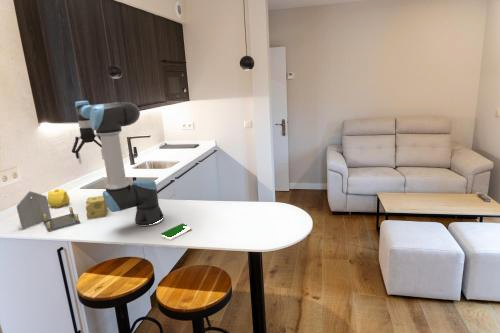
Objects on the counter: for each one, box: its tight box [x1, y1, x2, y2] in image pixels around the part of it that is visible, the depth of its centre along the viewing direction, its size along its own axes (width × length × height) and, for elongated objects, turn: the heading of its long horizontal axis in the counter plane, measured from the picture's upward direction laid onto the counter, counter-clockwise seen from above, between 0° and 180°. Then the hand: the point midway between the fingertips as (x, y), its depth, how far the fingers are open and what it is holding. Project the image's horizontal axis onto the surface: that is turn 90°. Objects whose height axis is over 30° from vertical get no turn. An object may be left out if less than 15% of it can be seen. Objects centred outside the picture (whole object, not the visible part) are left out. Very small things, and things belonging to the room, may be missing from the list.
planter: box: [16, 190, 52, 231], centre depth 190 cm, size 16×8×19 cm, turn 152°
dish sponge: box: [160, 222, 188, 237], centre depth 170 cm, size 7×14×2 cm, turn 141°
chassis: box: [42, 206, 81, 233], centre depth 190 cm, size 16×16×5 cm
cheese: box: [85, 195, 109, 220], centre depth 199 cm, size 10×11×10 cm
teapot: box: [47, 188, 71, 209], centre depth 217 cm, size 18×11×11 cm, turn 64°
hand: (92, 161), depth 210 cm, fingers open, 13 cm apart
